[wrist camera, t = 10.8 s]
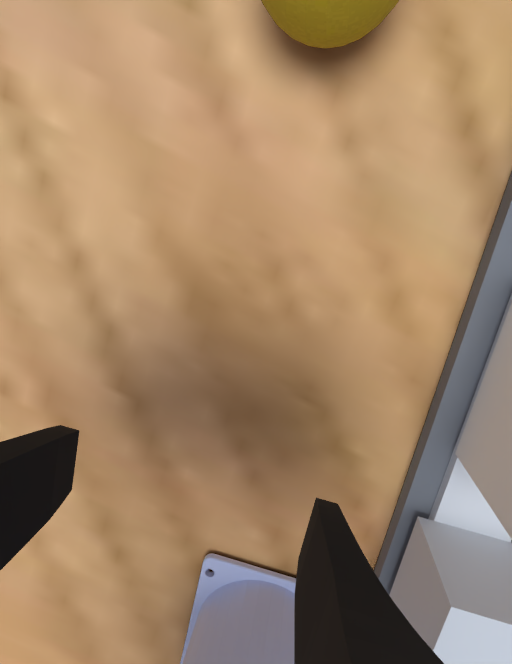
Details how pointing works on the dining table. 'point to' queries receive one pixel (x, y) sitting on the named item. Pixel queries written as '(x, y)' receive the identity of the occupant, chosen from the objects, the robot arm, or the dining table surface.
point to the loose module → (493, 431)
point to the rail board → (457, 494)
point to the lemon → (328, 19)
